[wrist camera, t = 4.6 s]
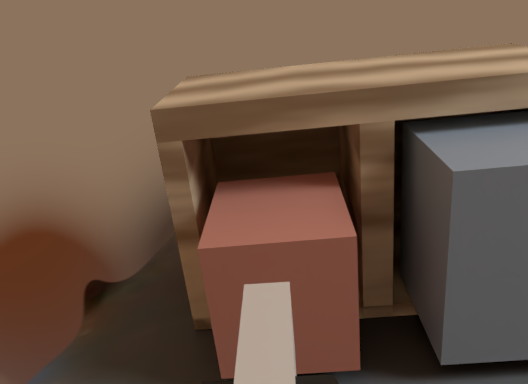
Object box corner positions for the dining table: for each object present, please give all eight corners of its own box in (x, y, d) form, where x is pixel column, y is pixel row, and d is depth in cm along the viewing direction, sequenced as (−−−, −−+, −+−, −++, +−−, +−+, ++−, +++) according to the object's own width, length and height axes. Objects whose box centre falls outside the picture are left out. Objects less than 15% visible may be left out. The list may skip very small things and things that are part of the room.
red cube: (360, 370, 26) (357, 236, 22) (221, 378, 26) (197, 248, 23) (339, 279, 34) (334, 171, 31) (234, 287, 34) (217, 182, 31)
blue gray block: (588, 356, 25) (634, 155, 20) (440, 365, 25) (453, 171, 21) (510, 266, 33) (530, 110, 29) (399, 275, 34) (402, 122, 29)
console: (570, 304, 31) (618, 63, 25) (195, 330, 32) (150, 110, 26) (492, 223, 42) (511, 43, 36) (215, 245, 43) (186, 76, 37)
